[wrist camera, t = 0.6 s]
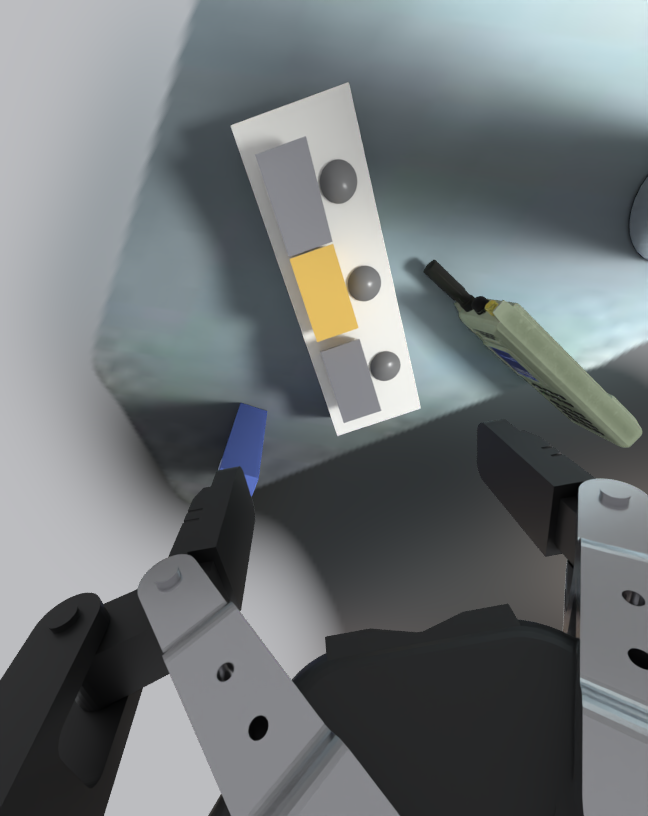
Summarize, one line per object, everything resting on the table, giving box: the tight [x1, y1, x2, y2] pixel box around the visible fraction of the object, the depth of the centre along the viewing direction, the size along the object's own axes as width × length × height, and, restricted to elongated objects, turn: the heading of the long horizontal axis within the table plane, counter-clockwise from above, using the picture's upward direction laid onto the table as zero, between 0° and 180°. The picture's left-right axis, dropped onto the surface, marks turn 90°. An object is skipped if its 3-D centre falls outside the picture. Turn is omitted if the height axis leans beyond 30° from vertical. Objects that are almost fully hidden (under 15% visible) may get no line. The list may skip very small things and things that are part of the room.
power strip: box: [230, 82, 421, 436], centre depth 29 cm, size 8×24×4 cm, turn 18°
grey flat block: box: [255, 136, 333, 257], centre depth 23 cm, size 3×6×2 cm, turn 17°
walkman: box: [218, 403, 267, 496], centre depth 30 cm, size 8×3×12 cm, turn 158°
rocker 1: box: [290, 244, 359, 342], centre depth 26 cm, size 3×6×2 cm, turn 18°
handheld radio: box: [424, 260, 642, 447], centre depth 32 cm, size 7×3×25 cm
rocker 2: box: [320, 339, 381, 423], centre depth 29 cm, size 3×6×2 cm, turn 18°
